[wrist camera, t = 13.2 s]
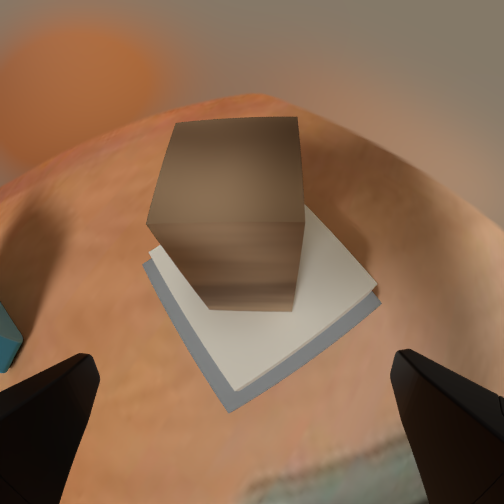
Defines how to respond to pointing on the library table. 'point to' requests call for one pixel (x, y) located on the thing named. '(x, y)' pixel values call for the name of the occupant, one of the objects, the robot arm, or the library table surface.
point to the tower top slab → (275, 323)
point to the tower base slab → (274, 376)
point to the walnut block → (233, 210)
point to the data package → (8, 340)
